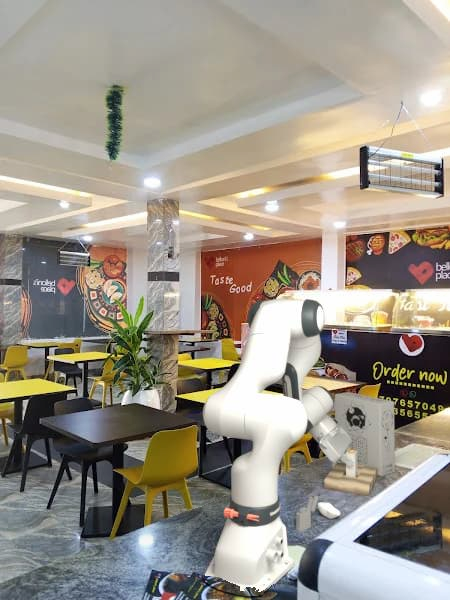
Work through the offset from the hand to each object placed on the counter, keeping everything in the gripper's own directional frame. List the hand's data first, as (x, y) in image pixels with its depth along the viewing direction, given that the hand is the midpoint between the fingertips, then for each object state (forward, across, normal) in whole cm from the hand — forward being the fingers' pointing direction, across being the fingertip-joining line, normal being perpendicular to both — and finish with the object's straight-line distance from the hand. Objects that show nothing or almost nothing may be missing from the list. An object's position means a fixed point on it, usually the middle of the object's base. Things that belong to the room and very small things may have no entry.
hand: (353, 462), depth 157 cm
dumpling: (+4, -28, +6) cm, 29 cm away
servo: (+3, 0, +4) cm, 5 cm away
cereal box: (+5, +18, +5) cm, 19 cm away
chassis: (+4, 0, +5) cm, 7 cm away
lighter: (+1, -36, +9) cm, 37 cm away
